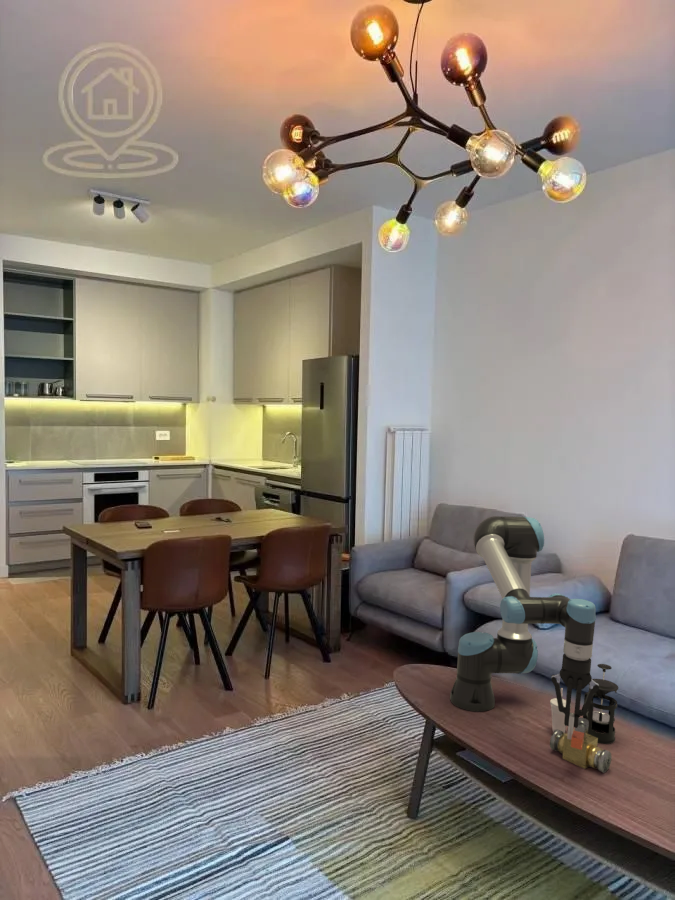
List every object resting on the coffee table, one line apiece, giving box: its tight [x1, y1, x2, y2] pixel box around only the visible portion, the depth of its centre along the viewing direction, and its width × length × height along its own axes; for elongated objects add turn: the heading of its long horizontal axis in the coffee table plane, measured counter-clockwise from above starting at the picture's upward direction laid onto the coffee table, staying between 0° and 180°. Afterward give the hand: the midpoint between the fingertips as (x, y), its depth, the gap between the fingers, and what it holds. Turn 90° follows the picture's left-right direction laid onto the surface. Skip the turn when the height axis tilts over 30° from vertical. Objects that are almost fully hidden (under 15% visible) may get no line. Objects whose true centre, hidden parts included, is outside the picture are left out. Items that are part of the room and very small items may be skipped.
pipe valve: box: [549, 728, 612, 774], centre depth 196 cm, size 16×6×9 cm, turn 42°
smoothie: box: [549, 687, 572, 733], centre depth 213 cm, size 6×6×14 cm
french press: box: [582, 663, 619, 745], centre depth 212 cm, size 12×9×23 cm
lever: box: [571, 717, 589, 750], centre depth 192 cm, size 13×4×3 cm, turn 154°
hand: (569, 737), depth 190 cm, fingers closed
